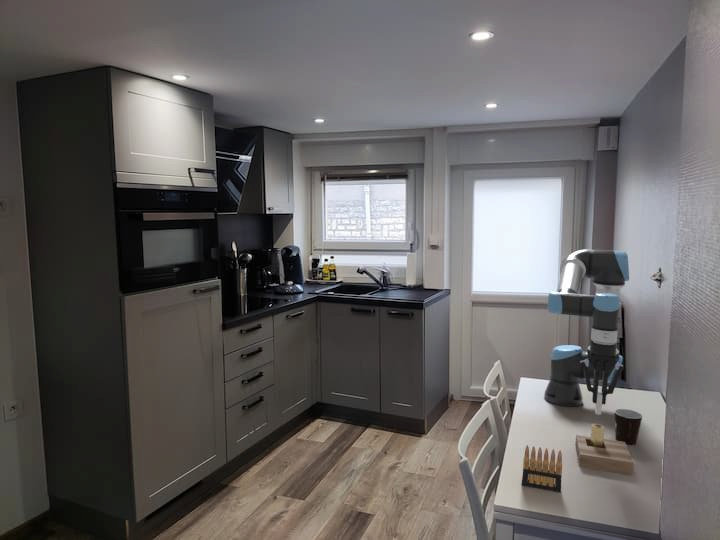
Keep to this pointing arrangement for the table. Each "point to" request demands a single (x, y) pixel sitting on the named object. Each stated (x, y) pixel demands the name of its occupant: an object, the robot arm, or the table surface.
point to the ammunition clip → (542, 470)
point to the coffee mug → (627, 425)
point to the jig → (604, 455)
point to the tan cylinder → (597, 435)
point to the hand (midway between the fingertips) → (597, 413)
